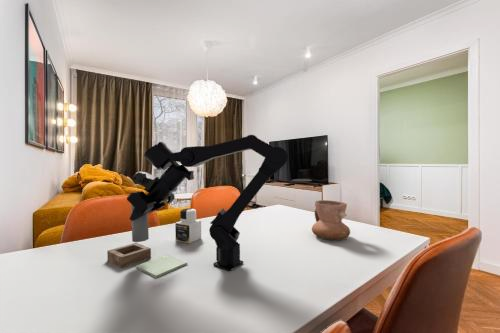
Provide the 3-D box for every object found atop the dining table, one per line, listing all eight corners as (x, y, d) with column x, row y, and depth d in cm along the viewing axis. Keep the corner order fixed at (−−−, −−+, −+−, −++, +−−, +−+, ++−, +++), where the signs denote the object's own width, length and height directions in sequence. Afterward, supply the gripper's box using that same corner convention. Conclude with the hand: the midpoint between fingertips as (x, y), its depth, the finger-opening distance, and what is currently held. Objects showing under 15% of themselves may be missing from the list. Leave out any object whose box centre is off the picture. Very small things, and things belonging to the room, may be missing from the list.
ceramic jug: (361, 242, 87) (360, 204, 87) (327, 246, 82) (327, 206, 83) (331, 230, 104) (331, 198, 104) (302, 232, 100) (302, 199, 100)
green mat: (187, 264, 68) (187, 262, 68) (156, 277, 60) (156, 275, 60) (167, 256, 74) (167, 254, 74) (136, 267, 66) (136, 265, 66)
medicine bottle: (175, 240, 90) (174, 209, 90) (188, 235, 96) (187, 206, 96) (189, 243, 86) (188, 211, 86) (201, 238, 93) (201, 208, 92)
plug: (151, 238, 71) (150, 202, 71) (137, 243, 67) (136, 205, 67) (143, 236, 73) (141, 201, 73) (129, 240, 70) (127, 204, 69)
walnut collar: (150, 257, 74) (150, 248, 74) (121, 267, 66) (121, 257, 66) (136, 251, 79) (136, 242, 79) (107, 260, 72) (107, 250, 72)
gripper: (164, 162, 79) (134, 195, 80) (132, 162, 60) (94, 204, 61) (187, 185, 78) (157, 217, 79) (162, 191, 60) (123, 234, 61)
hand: (135, 217), depth 70 cm, fingers closed on plug, 4 cm apart
